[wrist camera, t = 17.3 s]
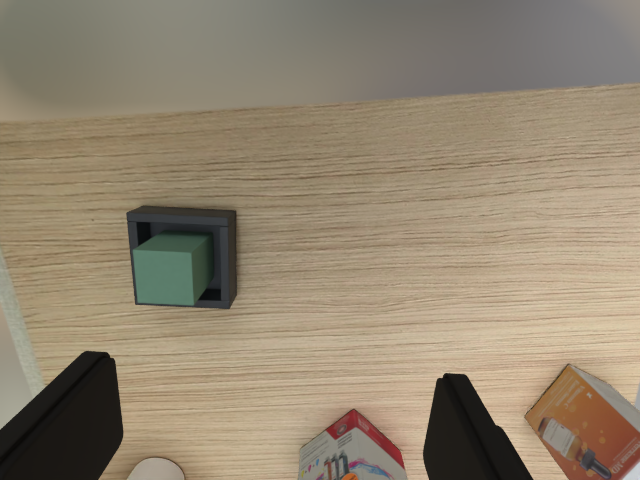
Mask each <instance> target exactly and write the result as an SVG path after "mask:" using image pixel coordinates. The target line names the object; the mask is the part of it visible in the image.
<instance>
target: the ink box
mask: <svg viewBox="0 0 640 480" xmlns="http://www.w3.org/2000/svg"><path fill="white" fill-rule="evenodd" d="M298 480H408V479H407V475H406V471H405V467H404V463H403V459H402V455H401V452H400V451H399V450H398V449H397V448H396V447H395V446H394V445H393V444H392V443H391V442H390V441H389V440H388V439H387V438H386V437H385V436H384V435H383V434H382V433H381V432H379V431H378V430H377V429H376V428H375V427H374V426H373V425H372V424H371V423H370V422H369V421H367V420H366V419H365V418H364V417H363V416H362V415H360V414H359V413H358V412H357V411H355V410H352V411H350V412H349V413H348V414H346V415H345V416H344V417H343V418H341V419H340V420H338V421H337V422H336V423H334V424H333V425H332V426H331V427H329V428H328V429H326V430H325V431H324V432H322V433H321V434H320V435H318V436H317V437H316V438H314V439H313V440H312V441H310V442H309V443H308V444H306V445H305V446H304V447H302V448H301V449H300V460H299V474H298Z"/></svg>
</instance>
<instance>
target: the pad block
mask: <svg viewBox="0 0 640 480" xmlns="http://www.w3.org/2000/svg"><path fill="white" fill-rule="evenodd" d="M133 257H134V268H135V278H136V289H137V300H138V303H153V304H173V305H194V304H195V303H196V302H197V300H198V299H199V298H200V296H201V295H202V293H203V292H204V291H205V289H206V288H207V286H208V285H209V284H210V282H211V281H212V280H213V278H214V254H213V233H211V232H191V231H172V230H164V231H162V232H161V233H159V234H157V235H156V236H154V237H153V238H151V239H149V240H148V241H146V242H145V243H143V244H141V245H140V246H138V247H137V248H135V249H133Z"/></svg>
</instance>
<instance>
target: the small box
mask: <svg viewBox="0 0 640 480" xmlns="http://www.w3.org/2000/svg"><path fill="white" fill-rule="evenodd" d="M525 418H526V420H527V422H528V423H529V424H530V426H531V427H532V429H533V430H534V431H535V433H536V434H537V436H538V437H539V438H540V440H541V441H542V443H543V444H544V445H545V447H546V448H547V450H548V451H549V452H550V454H551V455H552V457H553V458H554V460H555V461H556V462H557V464H558V465H559V467H560V468H561V469H562V471H563V472H564V473H565V475H566V476H567V478H568V479H569V480H640V411H639V410H638V409H637V408H636V407H634V406H633V405H632V404H631V403H630V402H629V401H628V400H626V399H625V398H624V397H623V396H622V395H621V394H620V393H619V392H617V391H616V390H615V389H614V388H613V387H612V386H611V385H609V384H607V383H605V382H603V381H601V380H599V379H597V378H595V377H593V376H591V375H589V374H587V373H585V372H583V371H581V370H579V369H577V368H575V367H573V366H571V365H568V366H567V367H566V369H565V370H564V371H563V372H562V374H561V375H560V376H559V378H558V379H557V380H556V381H555V382H554V384H553V385H552V386H551V387H550V388H549V390H548V391H547V392H546V393H545V394H544V395H543V396H542V398H541V399H540V400H539V401H538V402H537V404H536V405H535V406H534V407H533V408H532V409H531V410H530V411H529V412H528V413H527V414H526V416H525Z"/></svg>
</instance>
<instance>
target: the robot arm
mask: <svg viewBox="0 0 640 480" xmlns="http://www.w3.org/2000/svg"><path fill="white" fill-rule="evenodd" d="M122 438H123V424H122V416H121V407H120V398H119V390H118V381H117V373H116V364H115V360H114V358H110V355H109V354H108V353H107V352H95V351H85V352H83V353H82V354H81V355H80V356H79V357H77V358H76V359H75V360H74V361H73V362H72V363H71V364H70V365H69V366H68V367H67V368H66V369H65V370H64V371H63V372H61V373H60V374H59V375H58V376H57V377H56V378H55V379H54V380H53V381H52V382H51V383H50V384H49V385H48V386H47V387H45V388H44V389H43V390H42V391H41V392H40V393H39V394H38V395H37V396H36V397H35V398H34V399H33V400H32V401H31V402H29V403H28V404H27V405H26V406H25V407H24V408H23V409H22V410H21V411H20V412H19V413H18V414H17V415H16V416H15V417H13V418H12V419H11V420H10V421H9V422H8V423H7V424H6V425H5V426H4V427H3V428H2V429H1V430H0V480H98V479H99V478H100V476H101V475H102V473H103V471H104V470H105V468H106V467H107V465H108V464H109V462H110V460H111V459H112V457H113V456H114V454H115V453H116V451H117V449H118V448H119V446H120V444H121V442H122ZM423 459H424V464H425V468H426V471H427V474H428V478H429V480H533V478H532V477H531V475H530V473H529V472H528V470H527V468H526V467H525V465H524V463H523V462H522V460H521V458H520V457H519V455H518V453H517V452H516V450H515V448H514V447H513V445H512V443H511V442H510V440H509V438H508V437H507V435H506V433H505V432H504V431H503V429H502V428H501V427H499V426H498V425H495V423H494V422H493V420H492V418H491V416H490V415H489V413H488V411H487V409H486V408H485V406H484V404H483V403H482V401H481V399H480V397H479V396H478V394H477V392H476V391H475V389H474V387H473V385H472V384H471V382H470V380H469V379H468V377H467V376H466V375H465V374H451V373H445V374H444V375H443V378H438V379H437V382H436V387H435V392H434V397H433V403H432V408H431V413H430V418H429V423H428V428H427V434H426V439H425V444H424V450H423Z"/></svg>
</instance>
